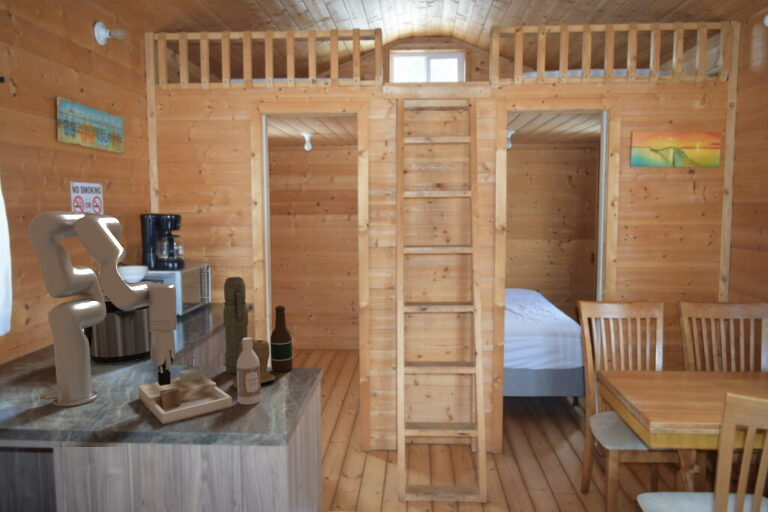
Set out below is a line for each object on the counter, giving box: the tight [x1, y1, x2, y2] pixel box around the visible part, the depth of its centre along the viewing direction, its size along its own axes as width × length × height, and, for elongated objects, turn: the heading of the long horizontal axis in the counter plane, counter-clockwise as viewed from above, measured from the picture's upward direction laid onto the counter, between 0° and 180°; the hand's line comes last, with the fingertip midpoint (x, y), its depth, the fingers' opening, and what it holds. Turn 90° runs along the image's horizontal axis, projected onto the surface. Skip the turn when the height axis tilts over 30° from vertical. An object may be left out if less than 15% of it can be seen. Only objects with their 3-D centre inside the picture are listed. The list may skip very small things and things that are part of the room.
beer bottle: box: [270, 305, 293, 374], centre depth 191 cm, size 8×8×24 cm
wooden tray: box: [137, 372, 217, 412], centre depth 165 cm, size 20×14×4 cm
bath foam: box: [236, 336, 262, 406], centre depth 159 cm, size 7×7×20 cm
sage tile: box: [179, 368, 201, 383], centre depth 170 cm, size 5×5×2 cm
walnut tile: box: [160, 388, 181, 410], centre depth 155 cm, size 5×5×2 cm
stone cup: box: [232, 339, 277, 389], centre depth 177 cm, size 15×12×15 cm
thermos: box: [222, 276, 249, 375], centre depth 191 cm, size 9×12×35 cm
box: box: [150, 386, 233, 425], centre depth 154 cm, size 20×13×3 cm, turn 128°
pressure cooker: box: [83, 280, 151, 365], centre depth 213 cm, size 30×28×32 cm
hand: (164, 384), depth 156 cm, fingers closed
